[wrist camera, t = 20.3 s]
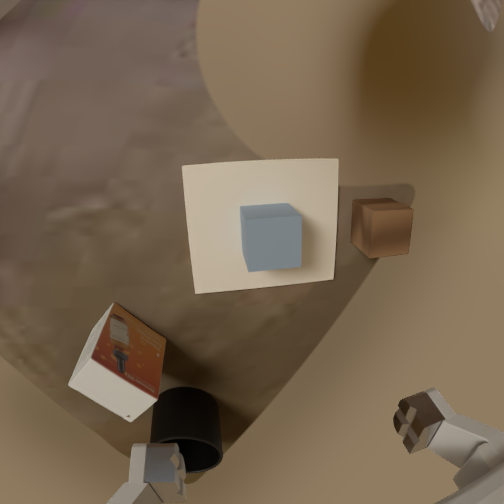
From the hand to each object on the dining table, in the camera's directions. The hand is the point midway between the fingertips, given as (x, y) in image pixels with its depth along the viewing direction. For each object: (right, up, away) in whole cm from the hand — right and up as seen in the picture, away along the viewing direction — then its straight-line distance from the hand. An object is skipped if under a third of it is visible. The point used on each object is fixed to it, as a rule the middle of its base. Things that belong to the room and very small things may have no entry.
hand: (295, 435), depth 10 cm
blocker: (+12, +10, +26) cm, 30 cm away
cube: (0, +9, +24) cm, 26 cm away
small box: (-17, -4, +27) cm, 32 cm away
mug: (-12, -17, +33) cm, 39 cm away
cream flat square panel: (0, +9, +24) cm, 26 cm away
